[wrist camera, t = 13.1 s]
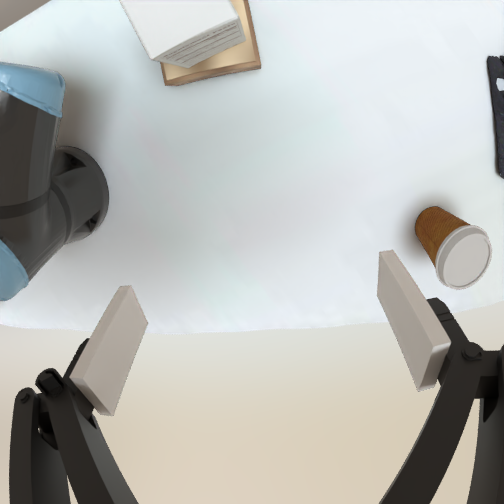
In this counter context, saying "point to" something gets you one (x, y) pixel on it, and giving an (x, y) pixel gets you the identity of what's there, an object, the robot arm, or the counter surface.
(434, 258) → the disposable coffee cup
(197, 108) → the counter surface
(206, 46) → the supplement box
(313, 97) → the counter surface
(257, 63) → the pedestal
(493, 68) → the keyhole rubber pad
